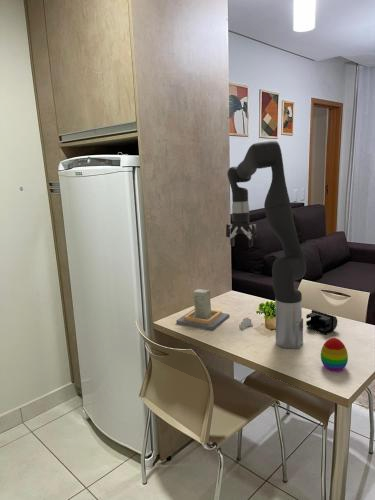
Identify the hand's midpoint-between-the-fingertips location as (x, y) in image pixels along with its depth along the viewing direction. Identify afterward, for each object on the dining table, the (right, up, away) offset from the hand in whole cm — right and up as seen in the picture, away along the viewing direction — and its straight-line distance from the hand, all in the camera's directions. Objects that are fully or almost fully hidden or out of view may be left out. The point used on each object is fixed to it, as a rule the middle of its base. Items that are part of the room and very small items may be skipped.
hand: (241, 246), depth 174 cm
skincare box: (-18, -31, -7) cm, 37 cm away
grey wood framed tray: (-18, -33, -7) cm, 38 cm away
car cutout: (-4, -35, -18) cm, 40 cm away
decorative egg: (+23, -40, -51) cm, 69 cm away
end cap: (+29, -34, -22) cm, 50 cm away
